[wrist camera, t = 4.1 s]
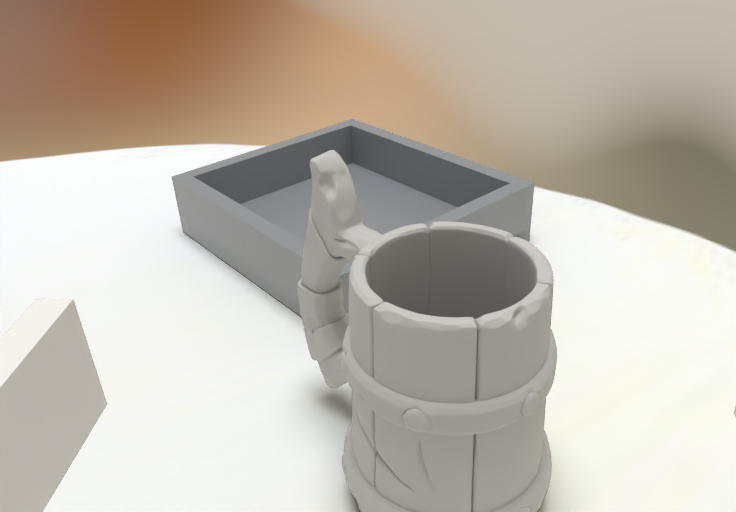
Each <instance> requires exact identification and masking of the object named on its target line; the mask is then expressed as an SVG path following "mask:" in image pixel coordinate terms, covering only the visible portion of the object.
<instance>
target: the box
mask: <svg viewBox="0 0 736 512" xmlns="http://www.w3.org/2000/svg"><path fill="white" fill-rule="evenodd" d="M330 150H334V151H336V152H337V153H338V154H339V155H340V156H341V158H342V159H343V161H344V163H345V164H346V165H347V167H348V169H349V172H350V175H351V178H352V181H353V184H354V188H355V192H356V195H357V199H358V205H359V210H360V214H361V220H362V223H363V224H364V225H365V226H366V227H367V228H370V229H372V230H375V231H377V232H379V233H380V234H382V235H383V234H385V233H388V232H390V231H392V230H395V229H397V228H401V227H404V226H408V225H412V224H420V223H423V224H425V225H426V226H427V227H428V228H429V226H430V224H431V223H432V222H464V223H471V224H477V225H483V226H488V227H492V228H497V229H500V230H503V231H507V232H509V233H511V234H512V235H513V237H519V238H521V239H524V240H526V241H528V242H529V237H530V225H531V214H532V203H533V191H534V183H532V182H530V181H526V180H523V179H521V178H518V177H515V176H513V175H509V174H507V173H504V172H501V171H498V170H496V169H493V168H490V167H487V166H484V165H481V164H478V163H476V162H473V161H470V160H467V159H464V158H461V157H459V156H455V155H453V154H450V153H447V152H444V151H441V150H439V149H436V148H433V147H430V146H427V145H424V144H421V143H419V142H416V141H413V140H410V139H407V138H405V137H402V136H399V135H396V134H393V133H390V132H388V131H385V130H382V129H379V128H376V127H373V126H371V125H368V124H365V123H362V122H359V121H356V120H354V119H351V120H348V121H345V122H342V123H338V124H335V125H332V126H329V127H326V128H323V129H320V130H317V131H314V132H311V133H307V134H304V135H301V136H298V137H295V138H292V139H289V140H286V141H282V142H279V143H276V144H273V145H270V146H266V147H263V148H260V149H257V150H254V151H251V152H248V153H245V154H241V155H238V156H235V157H232V158H229V159H226V160H223V161H220V162H216V163H213V164H210V165H207V166H204V167H201V168H198V169H194V170H191V171H188V172H185V173H182V174H179V175H176V176H173V177H172V180H173V185H174V190H175V195H176V200H177V205H178V209H179V214H180V219H181V224H182V229H183V232H184V233H186V234H187V235H188V236H190V237H191V238H193V239H194V240H195V241H197V242H198V243H199V244H201V245H202V246H204V247H205V248H206V249H208V250H209V251H211V252H212V253H213V254H215V255H216V256H217V257H219V258H220V259H222V260H223V261H224V262H226V263H227V264H229V265H230V266H231V267H233V268H234V269H235V270H237V271H238V272H240V273H241V274H242V275H244V276H245V277H247V278H248V279H249V280H251V281H252V282H253V283H255V284H256V285H258V286H259V287H260V288H262V289H263V290H265V291H266V292H267V293H269V294H270V295H272V296H273V297H274V298H276V299H277V300H278V301H280V302H281V303H283V304H284V305H285V306H287V307H288V308H290V309H291V310H292V311H294V312H295V313H296V314H298V315H299V316H301V313H300V306H299V299H298V291H297V287H298V282H299V281H300V280H301V278H302V274H301V268H302V259H303V255H304V254H303V248H304V244H305V239H306V234H307V228H308V219H309V209H310V208H311V203H312V176H311V169H310V160H311V159H312V158H314V157H316V156H319V155H321V154H323V153H325V152H327V151H330ZM352 263H353V261H352V260H350V261H349V262H348V263H347V264H346V265H345V266H344V267H343V270H342V272H341V275H340V277H339V278H340V279H341V280H342V289H343V296H344V301H343V306H344V310H345V313H348V314H349V275H350V268H351V265H352ZM301 317H302V316H301Z"/></svg>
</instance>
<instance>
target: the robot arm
mask: <svg viewBox="0 0 736 512" xmlns="http://www.w3.org/2000/svg"><path fill="white" fill-rule="evenodd" d="M106 405H107V402H106V399H105V396H104V393H103V390H102V387H101V384H100V380H99V377H98V374H97V371H96V368H95V365H94V362H93V359H92V356H91V353H90V350H89V346H88V343H87V340H86V337H85V334H84V331H83V328H82V325H81V322H80V319H79V316H78V312H77V309H76V306H75V303H74V300H73V299H36V300H35V301H34V302H33V304H32V305H31V306H30V307H29V308H28V309H27V310H26V311H25V312H24V313H23V315H22V316H21V317H20V318H19V319H18V320H17V321H16V322H15V323H14V324H13V326H12V327H11V328H10V329H9V330H8V331H7V332H6V333H5V334H4V335H3V337H2V338H1V339H0V512H43V510H44V508H45V507H46V505H47V503H48V502H49V500H50V498H51V497H52V495H53V493H54V492H55V490H56V488H57V487H58V485H59V483H60V482H61V480H62V478H63V477H64V475H65V473H66V472H67V470H68V468H69V467H70V465H71V463H72V462H73V460H74V458H75V457H76V455H77V453H78V452H79V450H80V448H81V447H82V445H83V443H84V442H85V440H86V438H87V437H88V435H89V433H90V432H91V430H92V428H93V427H94V425H95V423H96V422H97V420H98V418H99V417H100V415H101V413H102V412H103V410H104V408H105V407H106ZM734 414H735V416H736V407H735V411H734Z"/></svg>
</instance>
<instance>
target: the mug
mask: <svg viewBox="0 0 736 512" xmlns="http://www.w3.org/2000/svg"><path fill="white" fill-rule="evenodd" d="M310 169H311V176H312V203H311V208H310V209H309V219H308V228H307V234H306V239H305V244H304V248H303V254H304V255H303V259H302V268H301V274H302V278H301V280H300V281H299V282H298V287H297V291H298V299H299V306H300V313H301V316H302V321H303V325H304V330H305V335H306V340H307V344H308V348H309V351H310V354H311V357H312V359H313V360H317V361H318V363H319V366H320V369H321V372H322V374H323V377H324V379H325V381H326V383H327V384H328V385H329V386H330V387H331V388H337V387H339V386H341V385H343V384H344V383H346V382H348V383H349V385H350V386H351V388H352V422H351V424H350V426H349V428H348V431H347V434H346V439H345V445H344V454H343V456H342V466H343V470H344V473H345V475H346V479H347V483H348V486H349V488H350V491H351V493H352V495H353V496H354V498H355V499H356V501H357V504H358V507H359V510H360V512H537V511H538V510H539V508H540V506H541V504H542V502H543V500H544V498H545V496H546V493H547V490H548V487H549V482H550V476H551V452H550V447H549V443H548V440H547V436H546V433H545V431H544V419H545V403H546V396H547V394H548V393H549V391H550V389H551V386H552V383H553V380H554V376H555V369H556V360H557V349H556V343H555V339H554V336H553V333H552V330H551V329H550V327H551V312H552V297H553V272H552V269H551V266H550V264H549V262H548V260H547V259H546V257H545V256H544V255H543V254H542V253H541V252H540V251H539V250H538V249H537V248H536V247H535V246H533V245H532V244H531V243H529V242H528V241H526V240H524V239H521V238H519V237H513V235H512V234H511V233H509V232H507V231H503V230H500V229H497V228H492V227H488V226H483V225H477V224H471V223H464V222H432V223H431V224H430V226H429V228H428V227H427V226H426V225H425V224H423V223H420V224H412V225H408V226H404V227H401V228H397V229H395V230H392V231H390V232H388V233H385V234H383V235H382V234H380V233H379V232H377V231H375V230H372V229H370V228H367V227H366V226H365V225H364V224H363V223H362V220H361V214H360V210H359V205H358V199H357V195H356V192H355V188H354V184H353V181H352V178H351V175H350V172H349V169H348V167H347V165H346V164H345V163H344V161H343V159H342V158H341V156H340V155H339V154H338V153H337V152H336V151H334V150H330V151H327V152H325V153H323V154H321V155H319V156H316V157H314V158H312V159H311V160H310ZM350 260H352V261H353V263H352V265H351V268H350V275H349V314H348V313H345V310H344V306H343V301H344V296H343V289H342V280H341V279H340V278H339V277H340V275H341V272H342V270H343V267H344V266H345V265H346V264H347V263H348V262H349V261H350Z"/></svg>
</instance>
